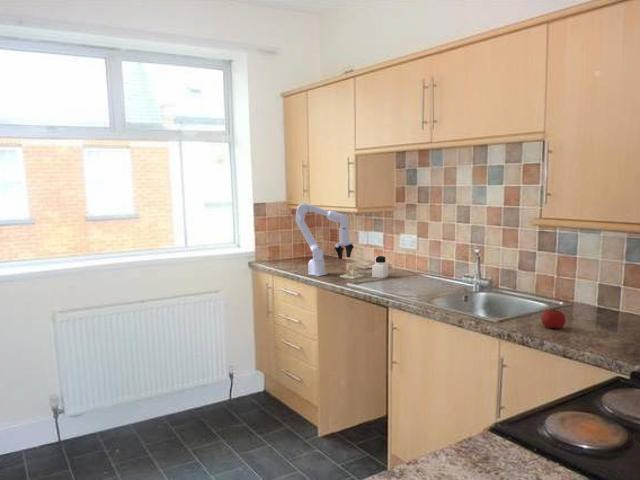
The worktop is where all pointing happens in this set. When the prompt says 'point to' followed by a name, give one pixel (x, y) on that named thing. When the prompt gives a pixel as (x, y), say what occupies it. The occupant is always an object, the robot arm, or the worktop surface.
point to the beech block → (352, 270)
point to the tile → (351, 276)
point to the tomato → (553, 319)
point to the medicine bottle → (380, 267)
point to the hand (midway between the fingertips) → (344, 258)
